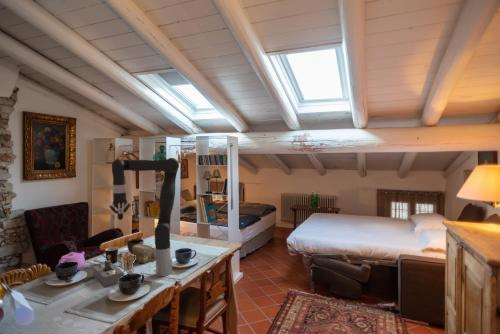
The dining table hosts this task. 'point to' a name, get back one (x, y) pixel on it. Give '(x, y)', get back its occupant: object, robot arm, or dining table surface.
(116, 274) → the console
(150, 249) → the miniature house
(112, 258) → the coffee mug
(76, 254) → the teapot
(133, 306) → the dining table surface
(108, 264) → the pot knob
